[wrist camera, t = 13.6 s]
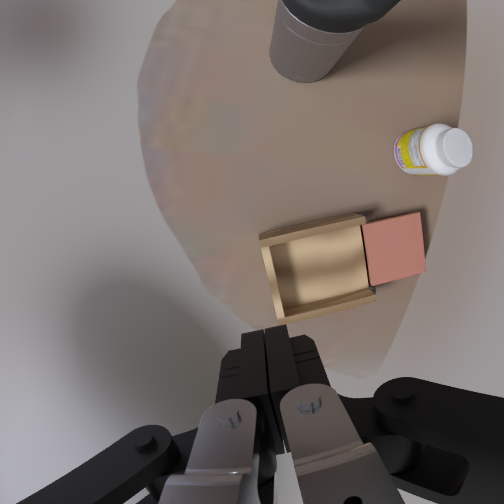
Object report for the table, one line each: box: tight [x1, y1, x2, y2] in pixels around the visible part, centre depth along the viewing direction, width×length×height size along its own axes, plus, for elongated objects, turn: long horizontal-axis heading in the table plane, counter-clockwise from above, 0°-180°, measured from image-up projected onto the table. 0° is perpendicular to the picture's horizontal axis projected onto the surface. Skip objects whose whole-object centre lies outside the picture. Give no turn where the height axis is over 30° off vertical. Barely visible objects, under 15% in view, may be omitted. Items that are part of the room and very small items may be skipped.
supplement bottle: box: [394, 123, 473, 175], centre depth 36 cm, size 7×7×13 cm
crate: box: [258, 213, 376, 326], centre depth 44 cm, size 12×15×4 cm
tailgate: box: [362, 212, 426, 286], centre depth 44 cm, size 9×1×9 cm
